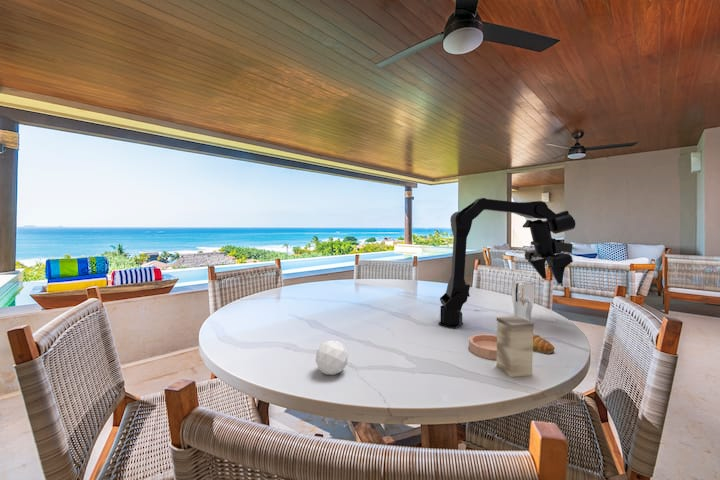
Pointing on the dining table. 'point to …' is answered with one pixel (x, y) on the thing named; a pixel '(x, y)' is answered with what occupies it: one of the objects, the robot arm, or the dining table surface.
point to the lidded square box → (514, 345)
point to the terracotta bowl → (484, 345)
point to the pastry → (542, 345)
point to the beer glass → (523, 299)
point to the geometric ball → (331, 357)
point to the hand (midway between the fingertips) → (552, 280)
